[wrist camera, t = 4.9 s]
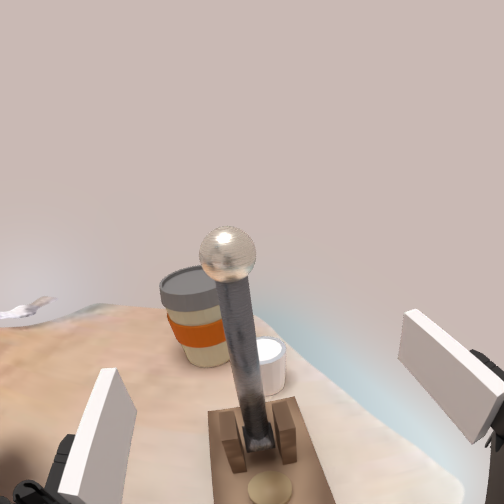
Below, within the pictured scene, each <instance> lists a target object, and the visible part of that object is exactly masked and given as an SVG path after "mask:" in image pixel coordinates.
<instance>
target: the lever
mask: <svg viewBox="0 0 504 504" xmlns="http://www.w3.org/2000/svg"><path fill="white" fill-rule="evenodd" d="M199 259H200V263H201V266H202V268H203V270H204V271H205V273H206V274H207V275H208V276H209V277H210V278H212V279H213V280H215V285H216V290H217V296H218V301H219V307H220V312H221V317H222V322H223V328H224V333H225V338H226V343H227V348H228V353H229V358H230V363H231V367H232V372H233V377H234V382H235V386H236V391H237V396H238V400H239V405H240V409H241V413H242V418H243V422H244V426H242V431H243V436H244V441H245V446H246V450H247V453H251V452H257V451H263V450H268V449H273V448H276V446H275V440H274V435H273V430H272V426H271V423H270V421H268V419H267V412H266V405H265V398H264V391H263V384H262V377H261V370H260V362H259V355H258V348H257V341H256V333H255V326H254V319H253V312H252V304H251V297H250V289H249V283H248V274H249V273H250V272H251V270H252V269H253V267H254V264H255V261H256V249H255V246H254V243H253V241H252V239H251V238H250V237H249V235H248V234H247V233H245V232H244V231H242V230H241V229H238V228H235V227H231V226H225V227H219V228H217V229H214V230H213V231H211V232H210V233H209V234H208V235H207V236H206V237H205V238H204V240H203V242H202V244H201V247H200V251H199Z"/></svg>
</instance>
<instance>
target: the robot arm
mask: <svg viewBox="0 0 504 504" xmlns="http://www.w3.org/2000/svg"><path fill="white" fill-rule="evenodd" d="M398 359H399V360H400V362H401V363H402V364H403V365H404V366H405V367H406V368H407V369H408V370H409V372H410V373H411V374H412V375H413V376H414V377H415V378H416V380H417V381H418V382H419V383H420V384H421V385H422V386H423V388H424V389H425V390H426V391H427V392H428V393H429V394H430V396H431V397H432V398H433V399H434V400H435V401H436V403H437V404H438V405H439V406H440V407H441V408H442V410H443V411H444V412H445V413H446V414H447V415H448V417H449V418H450V419H451V420H452V421H453V423H454V424H455V425H456V426H457V427H458V429H459V430H460V431H461V432H462V433H463V435H464V436H465V437H466V438H467V439H468V441H469V442H470V443H471V444H474V443H475V442H477V441H478V440H480V439H481V438H482V437H484V436H485V435H486V433H487V431H488V429H489V428H490V426H491V427H492V429H493V430H494V431H493V432H492V434H491V436H490V437H489V439H488V441H487V442H486V444H485V448H486V447H487V446H488V445H489V443H490V442H491V446H490V448H491V457H490V469H489V479H488V487H487V495H486V501H485V504H504V371H502V370H501V369H500V368H499V367H498V366H496V365H495V364H494V363H493V362H492V361H490V359H488V358H487V357H486V356H485V355H484V354H482V353H480V352H478V351H475V350H473V349H472V350H470V351H468V350H467V349H466V348H464V347H463V346H462V345H461V344H459V343H458V342H457V341H456V340H455V339H454V338H452V337H451V336H450V335H449V334H447V333H446V332H445V331H444V330H443V329H441V328H440V327H439V326H438V325H436V324H435V323H434V322H433V321H431V320H430V319H429V318H428V317H426V316H425V315H424V314H423V313H421V312H420V311H419V310H418V309H414V310H411V311H407V312H405V313H404V317H403V325H402V333H401V340H400V347H399V354H398ZM136 415H137V410H136V408H135V406H134V404H133V402H132V400H131V398H130V396H129V394H128V391H127V389H126V387H125V385H124V383H123V381H122V379H121V377H120V374H119V372H118V370H117V368H105V369H101V371H100V373H99V376H98V378H97V381H96V383H95V386H94V388H93V391H92V393H91V396H90V398H89V401H88V403H87V406H86V408H85V411H84V414H83V416H82V419H81V422H80V425H79V427H78V430H77V433H76V435H72V434H67V435H66V437H65V438H64V439H63V440H62V441H61V442H60V445H59V447H58V450H57V455H56V456H55V458H54V463H53V464H52V467H51V470H50V473H49V476H48V479H47V482H46V485H45V488H43V487H42V486H41V485H40V484H39V483H37V482H35V481H33V480H25V481H22V482H20V483H19V484H17V486H16V487H15V489H14V492H13V501H14V502H15V503H12V502H11V501H9V500H8V499H7V498H5V497H4V496H0V504H122V496H123V489H124V482H125V476H126V469H127V463H128V457H129V452H130V446H131V440H132V435H133V430H134V425H135V420H136Z"/></svg>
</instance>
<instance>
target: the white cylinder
mask: <svg viewBox="0 0 504 504" xmlns="http://www.w3.org/2000/svg"><path fill="white" fill-rule="evenodd" d="M256 341H257V348H258V355H259V362H260V370H261V377H262V384H263V391H264V396H270V395H274V394H276V393H278V392H280V391H281V390H282V388H283V387H284V384H285V367H286V346H285V344H284V342H283V341H281V340H280V339H278V338H274V337H268V336H262V337H256Z"/></svg>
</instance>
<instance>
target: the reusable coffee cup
mask: <svg viewBox="0 0 504 504" xmlns="http://www.w3.org/2000/svg"><path fill="white" fill-rule="evenodd" d="M159 287H160V295H161V301H162V304H163V306H164V307H166V310H167V312H168V313H167V318H168V321H169V323H170V325H171V328H172V330H173V332H174V334H175V337H176V339H177V340H178V342H179V343H181V344H182V347H183V349H184V351H185V353H186V355H187V358H188V360H189V361H190V362H191V363H192V364H193V365H195V366H198V367H205V368H208V367H216V366H219V365H222V364H224V363H226V362H227V361H229V360H230V358H229V353H228V348H227V343H226V338H225V333H224V328H223V322H222V317H221V312H220V307H219V301H218V296H217V290H216V285H215V280H213V279H212V278H210V277H209V276H208V275H207V274H206V273H205V271H204V270H203V268H202V266H201V265H198V266H192V267H188V268H184V269H181V270H178V271H175V272H173V273H171V274H169V275H168V276H166V277H165V278H164V279H162V281H161V282H160V285H159Z"/></svg>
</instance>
